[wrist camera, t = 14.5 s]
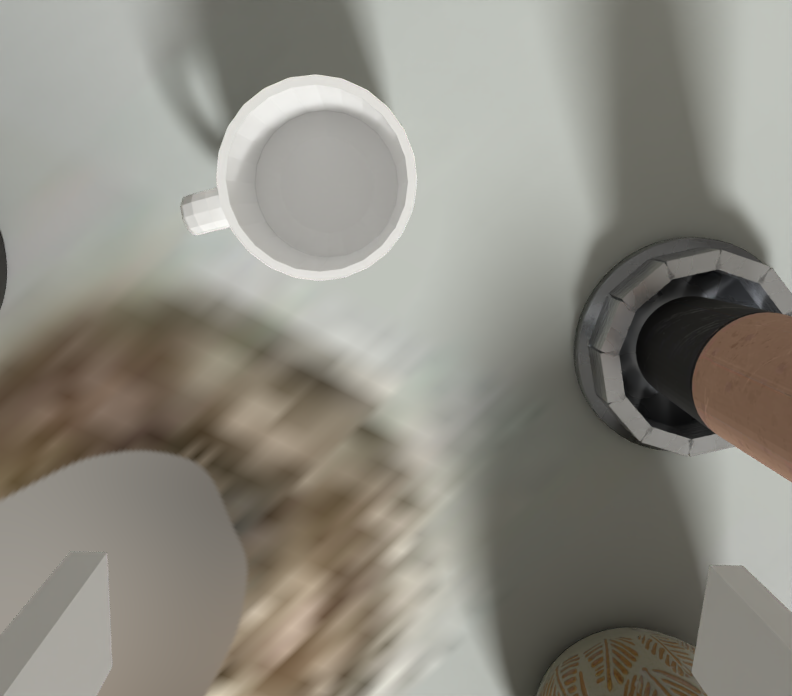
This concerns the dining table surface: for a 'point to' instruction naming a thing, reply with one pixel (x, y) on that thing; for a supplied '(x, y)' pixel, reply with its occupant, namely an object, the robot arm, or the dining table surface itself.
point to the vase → (623, 666)
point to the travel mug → (725, 372)
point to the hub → (631, 306)
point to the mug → (311, 179)
